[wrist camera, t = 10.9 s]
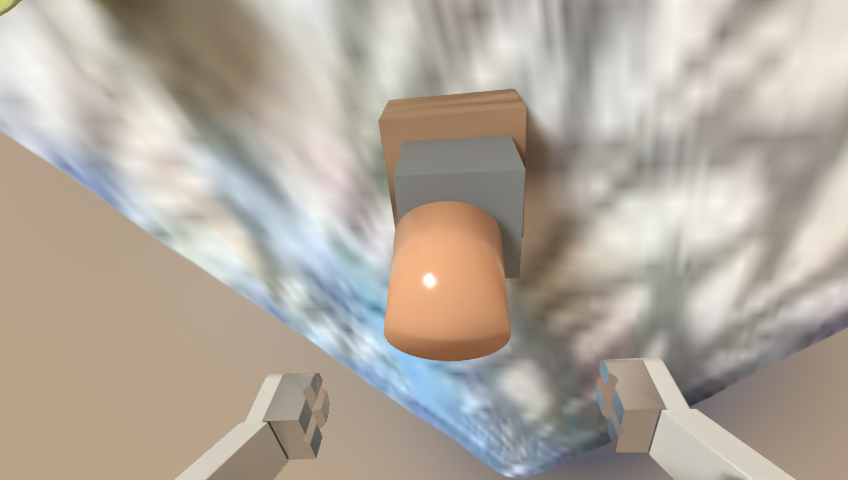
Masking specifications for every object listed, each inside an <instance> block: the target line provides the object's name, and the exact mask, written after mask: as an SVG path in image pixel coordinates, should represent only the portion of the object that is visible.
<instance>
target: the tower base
mask: <svg viewBox="0 0 848 480" xmlns="http://www.w3.org/2000/svg"><path fill="white" fill-rule="evenodd" d="M526 114H527V107H526V106H525V104H524V103H523V101H522V100H521V98H520V97H519V95H518V94H517V92H516V91H515V89H507V90H496V91H485V92H475V93H464V94H453V95H442V96H431V97H420V98H409V99H398V100H389V102H388V103H387V105H386V107H385V109H384V111H383V113H382V115H381V117H380V119H379V120H378V121H379V127H380V133H381V140H382V146H383V153H384V159H385V166H386V172H387V179H388V185H389V191H390V198H391V204H392V211H393V217H394V224H395V229H396V227H397V224H398V216H397V208H396V200H395V191H394V183H393V174H394V170H395V167H396V163H397V160H398V157H399V153H400V150H401V146H402V143H403V141H419V140H438V139H456V138H474V137H492V136H510V135H511V136H512V139H513V141H514V143H515V146H516V148H517V151H518V153H519V155H520V158H521V160H522V162H523V165H524V167H525V149H526ZM523 217H524V206H523ZM522 237H523V222H522Z"/></svg>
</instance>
